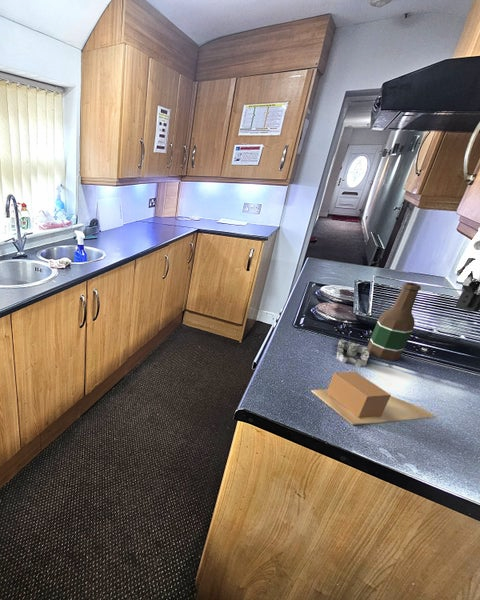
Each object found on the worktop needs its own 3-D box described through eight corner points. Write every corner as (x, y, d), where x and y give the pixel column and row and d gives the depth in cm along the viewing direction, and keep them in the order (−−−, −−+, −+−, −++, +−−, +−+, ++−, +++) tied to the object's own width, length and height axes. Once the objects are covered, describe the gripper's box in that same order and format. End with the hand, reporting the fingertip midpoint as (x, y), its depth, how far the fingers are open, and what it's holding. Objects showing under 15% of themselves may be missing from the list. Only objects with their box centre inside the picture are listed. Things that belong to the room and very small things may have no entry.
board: (385, 385, 87) (386, 384, 87) (436, 418, 76) (436, 416, 76) (311, 391, 84) (311, 390, 84) (352, 425, 73) (353, 423, 73)
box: (333, 372, 81) (326, 392, 83) (367, 396, 73) (358, 418, 75) (355, 371, 82) (347, 391, 84) (391, 395, 73) (381, 416, 76)
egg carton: (364, 371, 93) (369, 359, 91) (332, 361, 98) (336, 350, 96) (366, 355, 100) (371, 344, 99) (337, 347, 105) (341, 336, 103)
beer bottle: (368, 347, 105) (396, 277, 96) (400, 357, 100) (434, 284, 90) (362, 356, 101) (391, 283, 91) (395, 367, 95) (430, 291, 86)
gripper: (503, 229, 61) (457, 317, 68) (567, 228, 63) (517, 315, 70) (455, 222, 68) (419, 303, 75) (515, 222, 70) (473, 301, 77)
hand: (466, 308), depth 72 cm, fingers closed
